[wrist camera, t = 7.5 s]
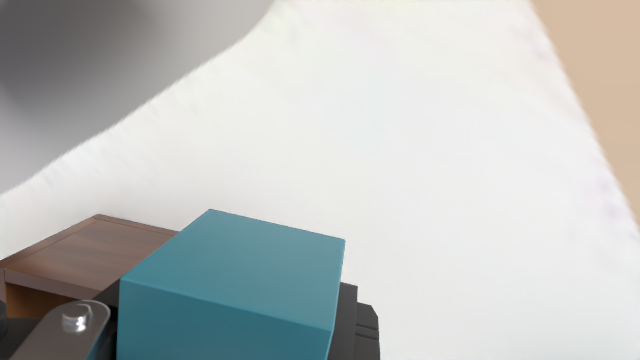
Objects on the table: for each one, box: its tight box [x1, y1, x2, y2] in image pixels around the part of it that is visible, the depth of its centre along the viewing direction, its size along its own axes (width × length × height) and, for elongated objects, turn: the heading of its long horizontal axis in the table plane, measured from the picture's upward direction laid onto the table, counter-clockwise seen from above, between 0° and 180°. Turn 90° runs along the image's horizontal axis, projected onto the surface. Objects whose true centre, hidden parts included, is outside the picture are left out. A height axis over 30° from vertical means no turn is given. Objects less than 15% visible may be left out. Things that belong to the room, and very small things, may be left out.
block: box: [116, 209, 345, 360], centre depth 10 cm, size 4×4×4 cm
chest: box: [0, 214, 179, 318], centre depth 27 cm, size 17×14×9 cm
